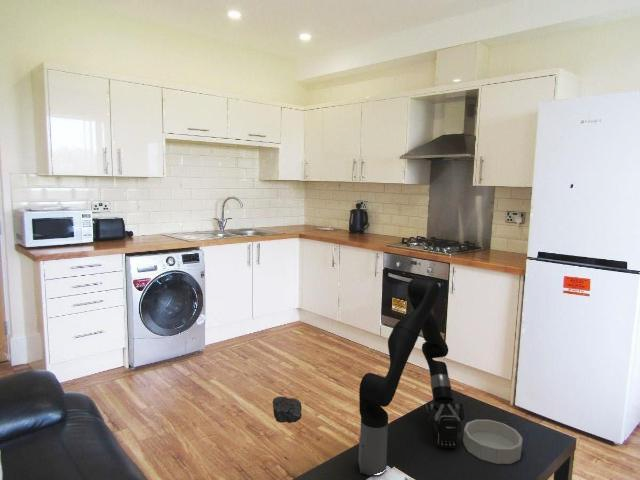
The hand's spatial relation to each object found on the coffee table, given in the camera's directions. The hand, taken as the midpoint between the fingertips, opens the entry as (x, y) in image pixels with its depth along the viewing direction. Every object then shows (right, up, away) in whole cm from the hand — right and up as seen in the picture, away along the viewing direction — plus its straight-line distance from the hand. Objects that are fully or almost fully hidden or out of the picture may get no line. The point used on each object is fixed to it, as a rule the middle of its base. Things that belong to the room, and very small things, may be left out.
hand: (448, 432), depth 165 cm
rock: (-62, -3, +22) cm, 66 cm away
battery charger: (0, -6, +1) cm, 6 cm away
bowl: (+17, -6, +2) cm, 18 cm away
